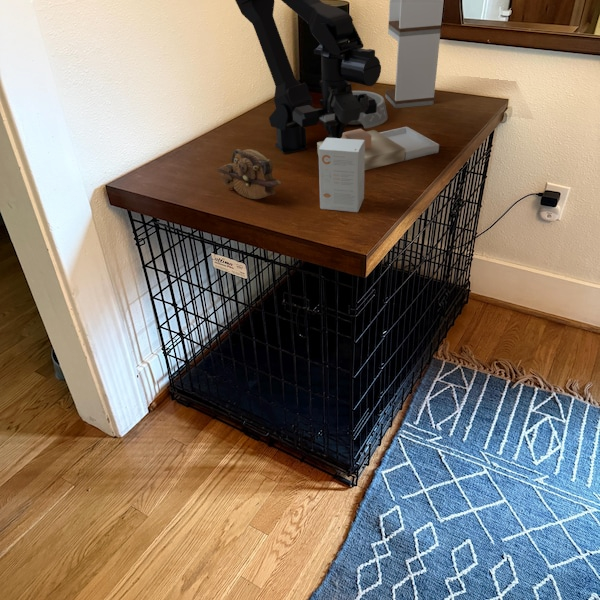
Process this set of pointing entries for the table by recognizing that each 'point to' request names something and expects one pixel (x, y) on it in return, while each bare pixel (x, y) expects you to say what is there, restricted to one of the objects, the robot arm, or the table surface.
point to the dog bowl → (373, 118)
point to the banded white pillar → (415, 50)
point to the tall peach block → (358, 136)
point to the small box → (341, 174)
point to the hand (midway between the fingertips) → (335, 146)
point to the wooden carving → (249, 174)
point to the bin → (412, 142)
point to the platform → (380, 151)
